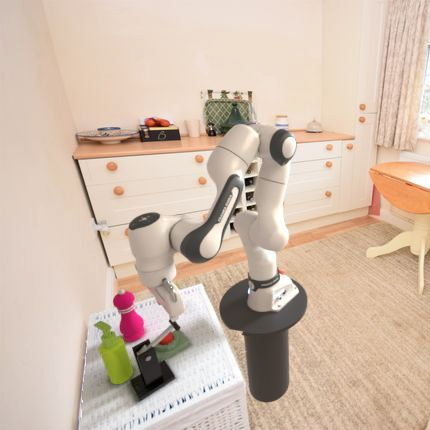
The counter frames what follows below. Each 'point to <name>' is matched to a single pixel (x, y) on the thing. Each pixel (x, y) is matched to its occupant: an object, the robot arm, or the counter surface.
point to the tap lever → (160, 336)
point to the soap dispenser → (114, 355)
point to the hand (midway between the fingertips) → (167, 311)
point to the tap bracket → (149, 372)
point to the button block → (171, 346)
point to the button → (167, 339)
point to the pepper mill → (128, 316)
